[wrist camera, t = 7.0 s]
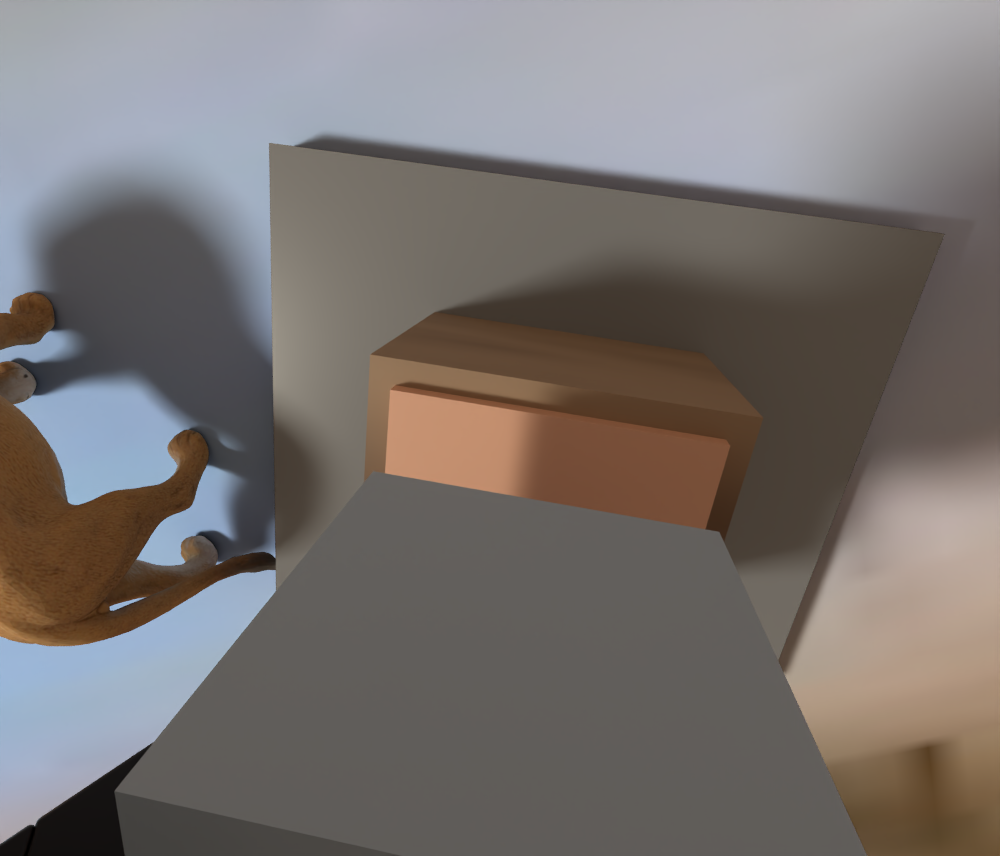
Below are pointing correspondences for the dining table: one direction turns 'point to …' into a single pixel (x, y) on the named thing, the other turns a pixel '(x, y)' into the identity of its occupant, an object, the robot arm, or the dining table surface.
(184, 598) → the lion figurine
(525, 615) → the slate-gray cube
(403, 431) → the tower base
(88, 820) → the robot arm
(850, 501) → the dining table surface
